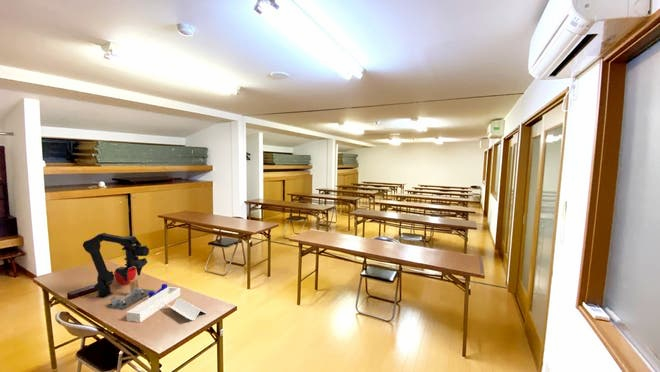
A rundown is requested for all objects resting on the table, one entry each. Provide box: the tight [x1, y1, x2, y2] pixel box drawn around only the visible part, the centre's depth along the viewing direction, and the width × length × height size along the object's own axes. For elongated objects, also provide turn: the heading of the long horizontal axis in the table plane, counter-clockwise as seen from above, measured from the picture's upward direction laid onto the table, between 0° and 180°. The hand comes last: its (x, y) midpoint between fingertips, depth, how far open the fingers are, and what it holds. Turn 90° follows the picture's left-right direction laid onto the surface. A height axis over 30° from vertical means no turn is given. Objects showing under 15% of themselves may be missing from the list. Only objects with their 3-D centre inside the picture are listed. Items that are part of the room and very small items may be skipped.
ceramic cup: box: [113, 267, 137, 286], centre depth 200 cm, size 13×17×10 cm
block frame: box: [125, 286, 181, 323], centre depth 168 cm, size 9×31×5 cm, turn 169°
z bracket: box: [164, 297, 208, 321], centre depth 163 cm, size 12×25×6 cm
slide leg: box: [129, 278, 144, 294], centre depth 181 cm, size 8×3×9 cm, turn 79°
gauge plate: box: [107, 287, 155, 311], centre depth 176 cm, size 12×22×5 cm, turn 169°
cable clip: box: [148, 283, 168, 299], centre depth 181 cm, size 12×4×6 cm, turn 170°
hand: (132, 278), depth 181 cm, fingers open, 9 cm apart
